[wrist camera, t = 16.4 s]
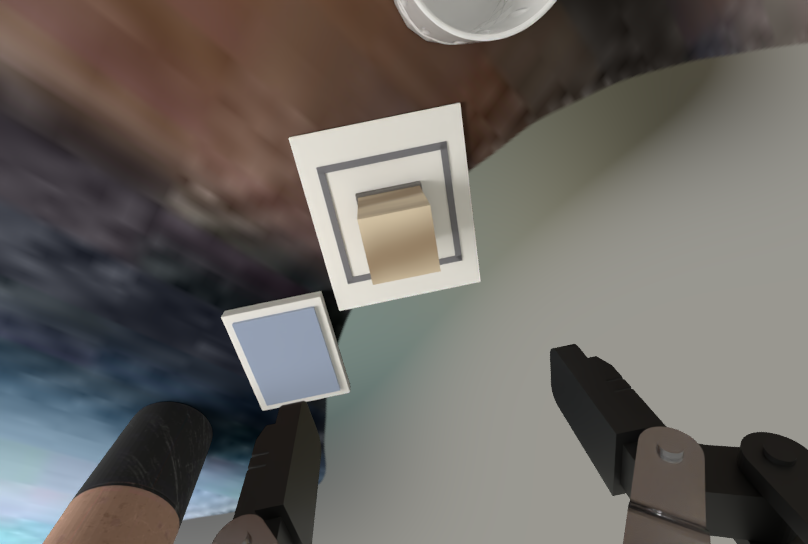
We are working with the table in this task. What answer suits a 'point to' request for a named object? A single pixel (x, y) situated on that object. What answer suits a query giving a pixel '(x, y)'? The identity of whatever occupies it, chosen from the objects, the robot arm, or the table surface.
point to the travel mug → (140, 481)
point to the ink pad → (288, 350)
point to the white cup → (470, 18)
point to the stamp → (397, 232)
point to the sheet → (379, 168)
